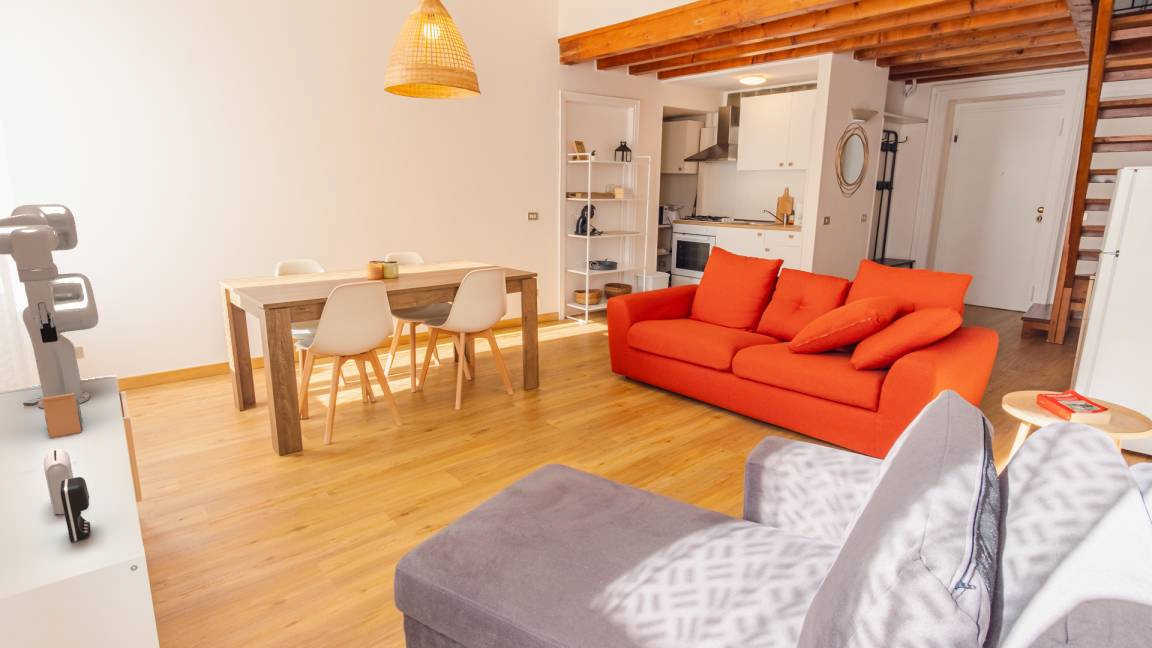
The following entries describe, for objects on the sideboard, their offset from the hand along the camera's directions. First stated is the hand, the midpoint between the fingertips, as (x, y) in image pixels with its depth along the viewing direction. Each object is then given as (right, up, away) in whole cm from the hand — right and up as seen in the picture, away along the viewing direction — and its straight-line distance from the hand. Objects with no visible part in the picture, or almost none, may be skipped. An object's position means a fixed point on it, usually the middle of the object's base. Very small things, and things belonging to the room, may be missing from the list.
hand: (50, 341), depth 169 cm
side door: (+6, -25, -2) cm, 26 cm away
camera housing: (+2, -25, +3) cm, 25 cm away
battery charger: (+44, -38, -44) cm, 72 cm away
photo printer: (+32, -35, -33) cm, 58 cm away
